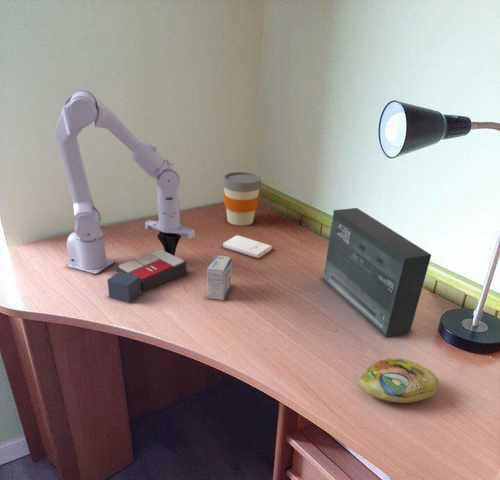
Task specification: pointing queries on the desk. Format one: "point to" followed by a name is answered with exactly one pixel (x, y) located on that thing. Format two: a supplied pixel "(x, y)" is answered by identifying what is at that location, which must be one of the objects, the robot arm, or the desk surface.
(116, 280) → the block
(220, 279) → the medicine box
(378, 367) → the cell model
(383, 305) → the cassette player
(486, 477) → the desk surface
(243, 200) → the reusable coffee cup
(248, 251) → the hard drive
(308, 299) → the desk surface
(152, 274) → the calculator
